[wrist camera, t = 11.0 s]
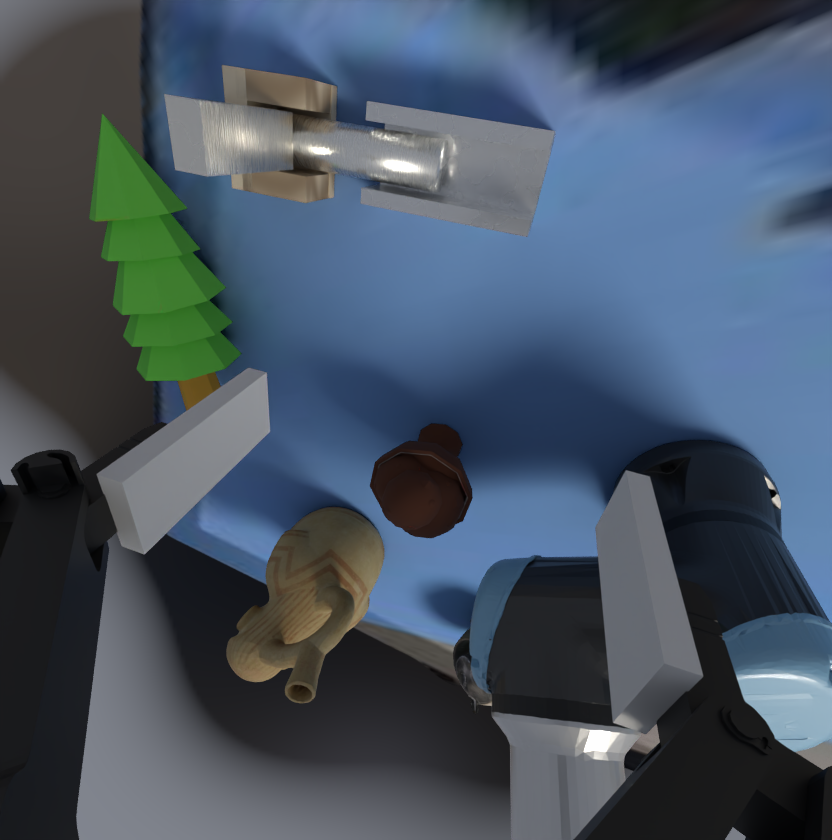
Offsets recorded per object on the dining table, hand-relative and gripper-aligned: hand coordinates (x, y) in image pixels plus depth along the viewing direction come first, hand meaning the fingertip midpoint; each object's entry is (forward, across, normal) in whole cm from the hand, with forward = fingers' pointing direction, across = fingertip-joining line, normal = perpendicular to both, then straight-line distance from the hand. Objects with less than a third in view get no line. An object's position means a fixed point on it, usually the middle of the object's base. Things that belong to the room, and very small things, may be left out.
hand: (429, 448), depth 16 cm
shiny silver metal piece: (+29, +15, -7) cm, 34 cm away
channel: (+31, +6, -7) cm, 32 cm away
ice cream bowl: (+31, +3, +22) cm, 38 cm away
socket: (+31, +22, -7) cm, 38 cm away
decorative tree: (+29, +31, +8) cm, 43 cm away
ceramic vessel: (+31, +14, +44) cm, 56 cm away
